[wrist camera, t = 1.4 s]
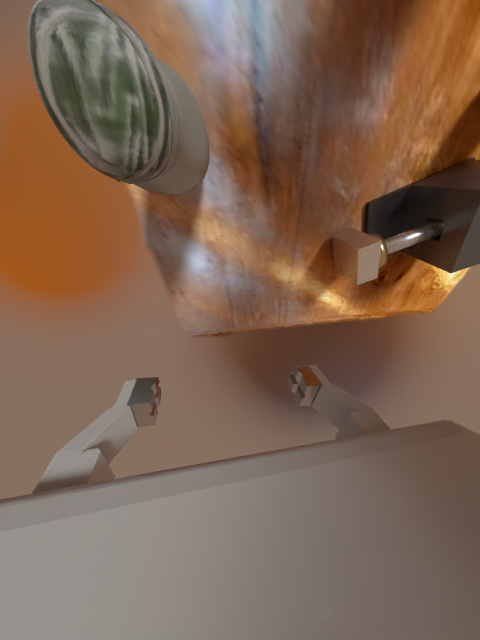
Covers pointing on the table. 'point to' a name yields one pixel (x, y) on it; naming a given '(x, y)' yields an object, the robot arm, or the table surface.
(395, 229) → the bearing block
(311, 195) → the table surface
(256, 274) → the table surface
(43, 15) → the glass bottle
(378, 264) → the shaft
